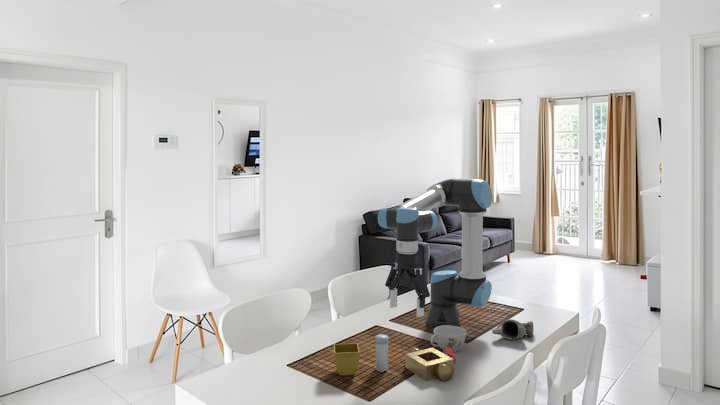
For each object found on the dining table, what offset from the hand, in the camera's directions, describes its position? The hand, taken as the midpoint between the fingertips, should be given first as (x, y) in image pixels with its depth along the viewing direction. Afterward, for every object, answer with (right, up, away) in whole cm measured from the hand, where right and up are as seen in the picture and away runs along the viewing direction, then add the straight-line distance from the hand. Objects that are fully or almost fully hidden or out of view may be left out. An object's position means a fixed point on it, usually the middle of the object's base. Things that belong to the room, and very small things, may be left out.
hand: (406, 311), depth 181 cm
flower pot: (-21, -21, -2) cm, 30 cm away
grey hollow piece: (+47, -17, +31) cm, 59 cm away
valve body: (+9, -20, +1) cm, 23 cm away
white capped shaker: (-9, -21, +1) cm, 22 cm away
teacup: (+17, -19, +18) cm, 31 cm away
